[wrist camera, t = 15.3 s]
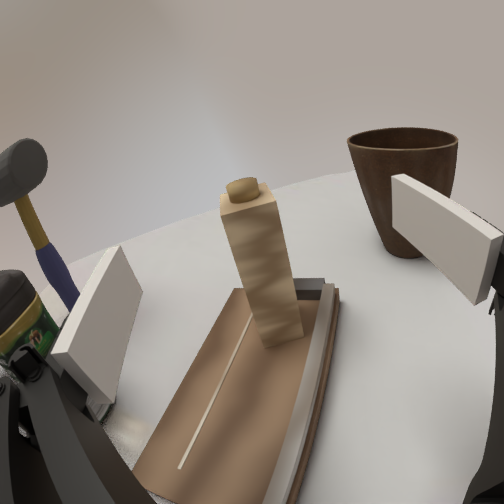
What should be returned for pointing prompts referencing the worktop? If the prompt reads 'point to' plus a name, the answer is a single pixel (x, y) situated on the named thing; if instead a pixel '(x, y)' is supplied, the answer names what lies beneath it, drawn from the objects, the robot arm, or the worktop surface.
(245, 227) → the beige tall block
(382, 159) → the plant pot
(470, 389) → the worktop surface
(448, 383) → the worktop surface
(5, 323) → the coffee jar
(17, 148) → the rubber mallet
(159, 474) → the walnut board
